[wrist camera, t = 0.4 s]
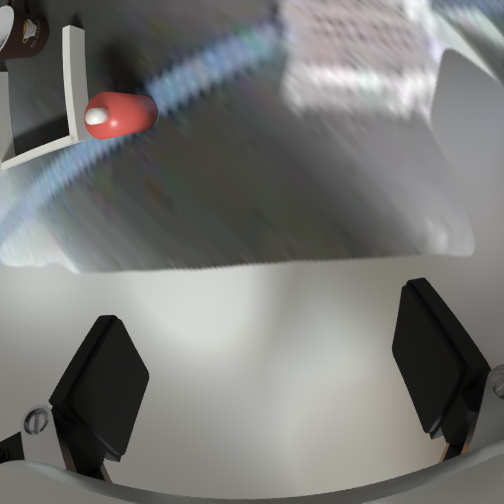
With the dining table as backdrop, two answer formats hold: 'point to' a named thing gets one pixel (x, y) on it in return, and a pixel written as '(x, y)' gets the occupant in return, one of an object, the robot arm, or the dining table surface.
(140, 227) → the dining table surface
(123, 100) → the squeeze bottle
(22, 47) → the coffee mug
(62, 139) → the open u-shaped frame
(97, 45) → the dining table surface
